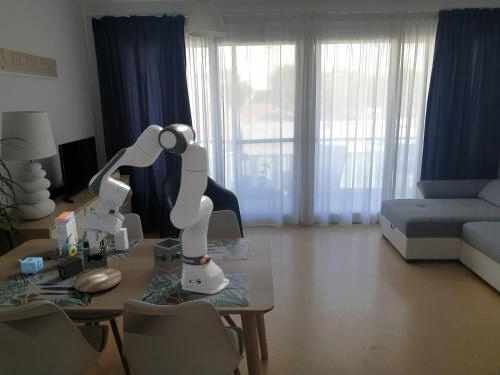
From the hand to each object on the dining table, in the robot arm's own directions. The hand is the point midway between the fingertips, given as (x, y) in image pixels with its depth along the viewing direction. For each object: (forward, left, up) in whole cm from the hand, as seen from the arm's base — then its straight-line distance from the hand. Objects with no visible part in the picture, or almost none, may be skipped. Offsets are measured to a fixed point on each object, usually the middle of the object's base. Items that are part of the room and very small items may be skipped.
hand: (92, 240), depth 164 cm
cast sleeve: (0, -1, -6) cm, 6 cm away
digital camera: (+21, -1, -22) cm, 30 cm away
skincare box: (+24, -36, -22) cm, 48 cm away
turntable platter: (0, -1, -20) cm, 20 cm away
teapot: (+41, +6, -22) cm, 47 cm away
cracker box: (+50, -21, -22) cm, 58 cm away
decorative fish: (+34, -12, -21) cm, 42 cm away
